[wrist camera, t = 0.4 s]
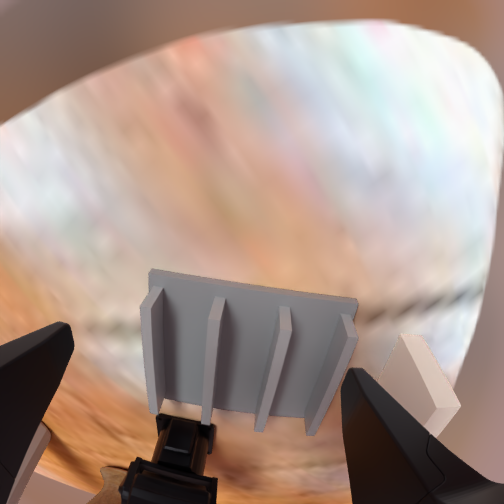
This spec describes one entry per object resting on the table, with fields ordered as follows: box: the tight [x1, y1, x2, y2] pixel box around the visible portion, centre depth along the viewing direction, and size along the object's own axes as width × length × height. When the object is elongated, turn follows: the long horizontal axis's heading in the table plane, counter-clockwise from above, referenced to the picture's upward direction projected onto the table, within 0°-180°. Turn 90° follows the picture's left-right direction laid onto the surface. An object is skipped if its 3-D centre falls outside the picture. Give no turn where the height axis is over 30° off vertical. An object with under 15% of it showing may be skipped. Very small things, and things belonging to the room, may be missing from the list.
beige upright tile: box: [377, 334, 461, 438], centre depth 22 cm, size 8×2×9 cm, turn 172°
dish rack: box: [140, 269, 359, 436], centre depth 25 cm, size 14×16×4 cm
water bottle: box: [6, 422, 51, 504], centre depth 25 cm, size 9×8×25 cm
